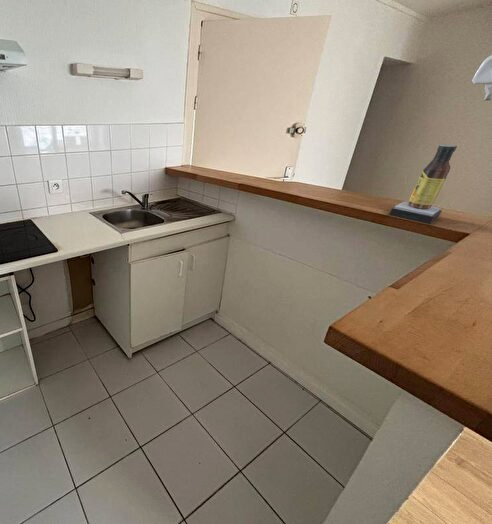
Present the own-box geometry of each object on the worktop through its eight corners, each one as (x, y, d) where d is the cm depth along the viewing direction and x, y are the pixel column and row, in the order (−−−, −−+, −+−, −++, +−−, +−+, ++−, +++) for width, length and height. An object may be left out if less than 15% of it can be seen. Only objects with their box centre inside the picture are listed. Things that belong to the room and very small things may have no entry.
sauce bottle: (410, 203, 101) (438, 143, 91) (433, 207, 96) (465, 145, 86) (403, 206, 97) (431, 144, 88) (426, 211, 93) (459, 146, 83)
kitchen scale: (438, 217, 97) (443, 208, 96) (429, 224, 91) (434, 214, 90) (399, 209, 105) (403, 200, 103) (388, 215, 99) (392, 206, 98)
